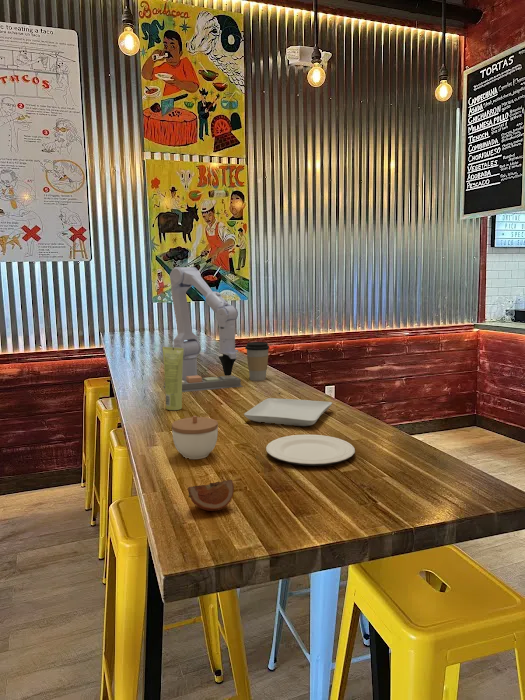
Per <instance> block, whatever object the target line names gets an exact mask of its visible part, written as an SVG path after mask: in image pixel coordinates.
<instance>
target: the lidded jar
mask: <svg viewBox="0 0 525 700" xmlns="http://www.w3.org/2000/svg"><path fill="white" fill-rule="evenodd" d="M218 428H219V423H218V421H217V420H216V419H213V418H211V417H205V416H202V417H201V416H197V415H192V417H185V418H181V419H177V420H174V421H173V422H172V423H171V430H172V439H173V444H174V447H175V449H176V450H177V451H178V453H180V455H182V457H183V458H184V457H185V458H184V459H187V458H189V459H188V460H201V459H205V458H207V457H208V456H209V454H211V452H213V450H214V449H215V447H216V445H217V442H218Z"/></svg>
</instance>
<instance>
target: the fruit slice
mask: <svg viewBox="0 0 525 700" xmlns="http://www.w3.org/2000/svg"><path fill="white" fill-rule="evenodd" d="M234 488H235V487H234V482H233V480H232V479H227V480H223V481H216V482H210V483H209V484H202V485H201V484H200V485H194V486H188V487H187V491H188V498H190V500H191V501H192V503H193V504H194V505H195V506H196V507H198V508H200V509H202V510H205V511H208V512H209V511H210V512H216V511H219V510H223V509H224V508H226V507H227V506H228V505H229V504H230V502H231V501H232V500H233V499H232V498H233V497H234V493H235V491H234Z"/></svg>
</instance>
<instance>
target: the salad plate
mask: <svg viewBox="0 0 525 700" xmlns="http://www.w3.org/2000/svg"><path fill="white" fill-rule="evenodd" d="M332 405H333V402H332V401H325V400H324V401H323V400H310V399H308V400H307V399H298V398H297V399H294V398H293V399H291V398H277V397H276V398H275V397H268V398H267V397H266V399H264V400H262V401H261V402H259V403H258V404H256V405H254V406H253V407H252V408H250V409H248V410H247V411H246V412H244V413H243V415H244V416H245V418H246V419H248V420H250V421H252V422H257V423H261V422H265V423H264V424H271V423H275V424H274V425H281V424H284V426H292V425H294V426H295V427H309V426H313V425H315V424H316V422H317V421H318V420H319V418H320V417H321V416H322V415H323V414H324V413H325V412H327V410H329V408H330V407H331V406H332Z"/></svg>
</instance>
